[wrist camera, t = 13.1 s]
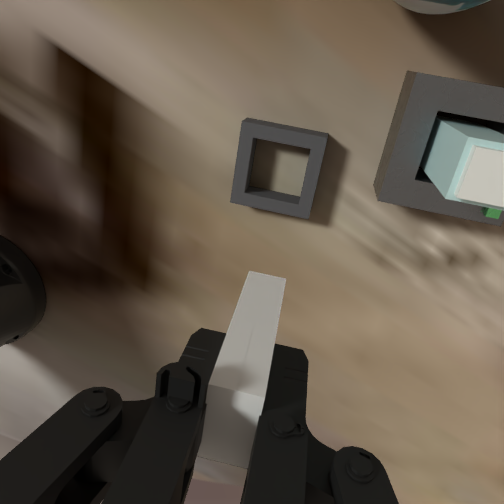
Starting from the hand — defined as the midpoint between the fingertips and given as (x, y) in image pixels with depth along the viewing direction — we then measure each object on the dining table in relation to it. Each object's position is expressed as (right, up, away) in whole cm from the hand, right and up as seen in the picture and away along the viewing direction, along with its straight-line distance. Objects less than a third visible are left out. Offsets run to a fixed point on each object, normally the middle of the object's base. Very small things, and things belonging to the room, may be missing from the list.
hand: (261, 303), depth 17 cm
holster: (+2, +10, +24) cm, 26 cm away
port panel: (+17, +12, +20) cm, 29 cm away
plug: (+17, +12, +20) cm, 29 cm away
